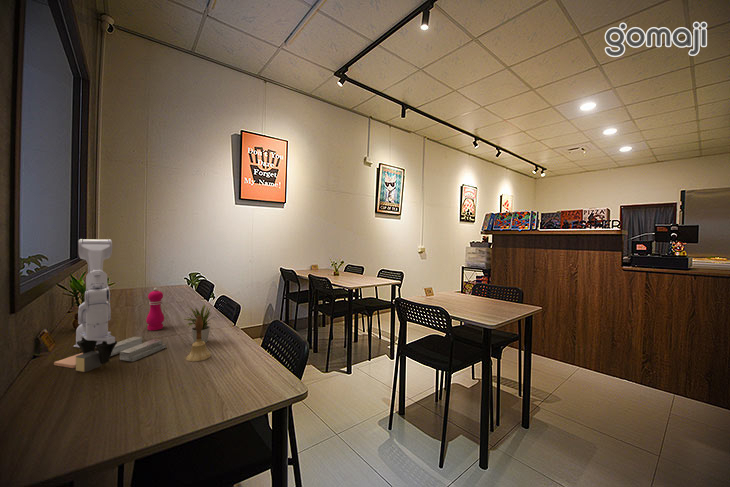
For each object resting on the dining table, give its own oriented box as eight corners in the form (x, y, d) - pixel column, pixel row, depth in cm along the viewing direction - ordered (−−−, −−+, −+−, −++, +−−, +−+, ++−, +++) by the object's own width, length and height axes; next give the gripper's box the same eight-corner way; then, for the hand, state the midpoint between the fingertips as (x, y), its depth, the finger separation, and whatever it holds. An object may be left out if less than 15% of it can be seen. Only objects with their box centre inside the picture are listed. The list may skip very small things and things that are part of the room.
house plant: (183, 337, 134) (183, 301, 133) (217, 334, 140) (218, 299, 139) (178, 349, 121) (179, 309, 120) (216, 344, 127) (217, 306, 126)
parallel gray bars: (94, 355, 112) (94, 348, 112) (130, 343, 126) (130, 335, 126) (132, 361, 108) (133, 353, 108) (166, 347, 122) (166, 340, 122)
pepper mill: (154, 331, 141) (155, 289, 140) (142, 330, 142) (142, 288, 141) (167, 327, 148) (168, 286, 147) (155, 325, 149) (156, 285, 149)
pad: (53, 365, 104) (53, 362, 104) (83, 355, 113) (83, 352, 113) (73, 368, 102) (73, 365, 102) (102, 357, 111) (102, 355, 111)
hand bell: (181, 358, 112) (181, 316, 112) (202, 351, 120) (202, 311, 119) (194, 363, 108) (195, 320, 108) (215, 355, 116) (216, 315, 115)
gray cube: (75, 371, 100) (75, 356, 100) (92, 364, 105) (92, 350, 105) (84, 372, 99) (84, 357, 99) (101, 366, 104) (101, 352, 104)
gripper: (124, 321, 106) (124, 359, 107) (95, 317, 110) (95, 353, 111) (102, 327, 99) (101, 367, 100) (72, 322, 104) (72, 361, 104)
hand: (96, 361), depth 105 cm, fingers open, 7 cm apart
